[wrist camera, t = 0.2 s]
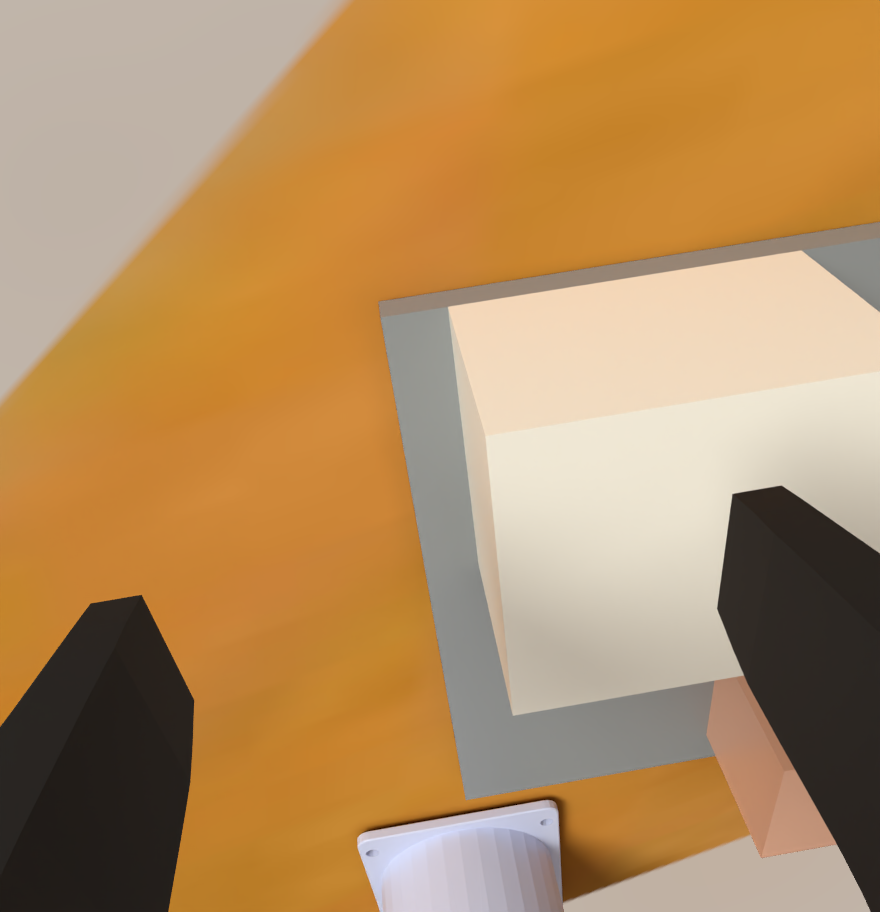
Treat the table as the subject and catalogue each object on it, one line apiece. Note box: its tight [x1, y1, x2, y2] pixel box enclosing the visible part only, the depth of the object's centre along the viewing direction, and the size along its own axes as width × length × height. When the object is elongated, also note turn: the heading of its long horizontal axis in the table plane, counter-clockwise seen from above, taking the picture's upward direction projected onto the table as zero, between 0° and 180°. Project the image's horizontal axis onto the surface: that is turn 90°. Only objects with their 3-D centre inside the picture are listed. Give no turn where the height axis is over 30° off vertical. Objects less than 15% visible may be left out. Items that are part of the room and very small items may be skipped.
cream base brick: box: [448, 250, 880, 716], centre depth 18 cm, size 8×8×5 cm
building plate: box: [379, 222, 880, 800], centre depth 24 cm, size 20×15×1 cm
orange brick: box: [706, 676, 836, 858], centre depth 26 cm, size 5×5×4 cm
